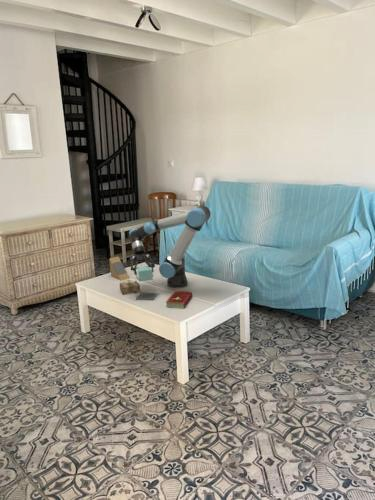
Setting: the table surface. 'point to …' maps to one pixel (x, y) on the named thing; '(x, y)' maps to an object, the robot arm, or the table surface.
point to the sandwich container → (118, 269)
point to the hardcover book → (179, 299)
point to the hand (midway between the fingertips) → (145, 277)
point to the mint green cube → (144, 273)
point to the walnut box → (129, 287)
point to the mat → (146, 296)
